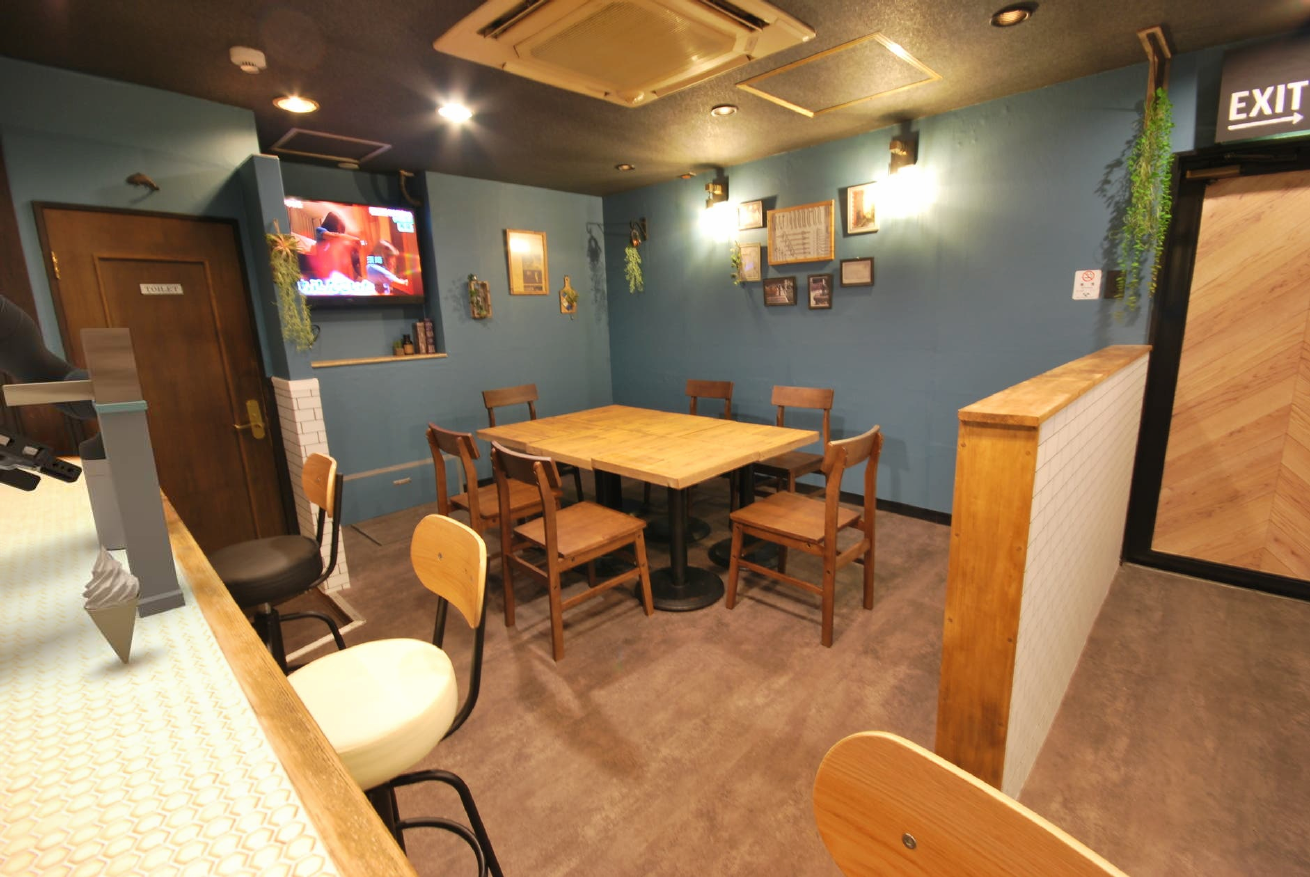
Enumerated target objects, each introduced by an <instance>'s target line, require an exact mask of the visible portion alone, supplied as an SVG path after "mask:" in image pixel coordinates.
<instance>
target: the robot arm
mask: <svg viewBox="0 0 1310 877" xmlns="http://www.w3.org/2000/svg"><path fill="white" fill-rule="evenodd" d="M0 371H1V372H3V373H5V374H6V375H8V376H10V377H12V378H13V379H15V380H17V381H19V382H20V384H33V383H50V382H67V381H84V380H90V378H89V374H88V369H82V368H79V367H76V366H74V365H73V364H70V363H69V362H68V361H65V360H64V359H62V358H61V357H59V356H58V355H57V354H55V353H53V352H52V351H50V350H49V349H48V348H47V346H46V345H45V343H44V341H43V338H42V334H41V332H40V329H39V327H38V326H37V324H36V322H35V320H33V318H32V317H31V316H30V315H29V314H28V313H26V311H25V310H23V309H22V308H20V306H17V305H16V304H15V303H13V302H12V301H10V300H9V299H8V298H6V297H5V296H4V295H2V294H0ZM140 389H141V394H142V399H143V400H144V399H145V398H144V394H143V390H142V387H141V386H140ZM144 401H145V400H144ZM49 404H50V405H52V406H53V407H54V408H56V409H57V410H58V411H59V412H62V413H63V414H65V415H67V416H69V417H72V418H74V419H78V420H89V421H90V420H91V421H92V420H95V421H96V420H98V416H97V412H96V410H95V408H94V407H93V404H92V400H79V401H66V402H53V403H49ZM145 415H146V416H147V412H145ZM98 426H99V425H98ZM98 428H99V429H98V433H97V434H96V435H94V436H93V437H92V438H89V439H86V440H84V441H82V442H80V444H78V445H79V446H78V453H79V458H80V462H81V466H79V465H77V464H74V463H71V462H68V461H66V460H64V459H61V458H58V457H56V456H53V455H51V454H52V453H53V451H54V449H55V448H54V447H52V446H50V445H47V444H45V443H42V442H40V441H37V440H34V439H32V438H29V437H26V436H23V435H20V434H18V433H15V432H12V431H9V430H7V429H4V428H2V427H0V484H3V485H6V486H8V487H12V488H15V489H18V490H20V491H24V492H32V491H35V490H36V489H37V487H38V485H39V484H40V482H41V480H42V477H41V476H40V475H37V474H35V473H32V472H36V473H38V474H41V475H44V476H48V477H50V478H53V479H56V480H59V481H62V482H64V483H67V484H72V483H76V482H77V481H78V479H79V478H80V476H81V474H82V472H83V475H84V479H85V485H86V489H87V493H88V498H89V503H90V507H91V511H92V516H93V520H94V525H95V530H96V535H97V539H98V543H99V547H100V548H99V549H101V545H103V546H104V548H105V549H106V550H119V549H125V545H124V540H123V535H122V531H121V526H120V521H119V516H118V512H117V507H116V502H115V497H114V493H113V488H112V483H111V478H110V474H109V469H108V464H107V459H106V454H105V450H104V445H103V440H102V435H101V431H100V426H99V427H98ZM29 455H31V456H33V457H31V456H29ZM30 471H31V472H30Z"/></svg>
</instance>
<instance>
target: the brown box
mask: <svg viewBox="0 0 1310 877" xmlns="http://www.w3.org/2000/svg"><path fill="white" fill-rule="evenodd" d="M79 335H80V341H81V345H82V349H83V353H84V359H85V364H86V368H87V369H86V370H88V374H89V378H90V380H84V381H67V382H50V383H33V384H23V383H19V384H18V383H16V384H4V385H3V386H2V385H1V386H2V387H1V388H2V390H3V394H4V399H5V403H6V406H7V407H11V406H24V405H36V404H37V405H39V404H40V405H41V404H50V403H53V402H66V401H79V400H92V399H94V400H95V402H96V403H97V405H100V404H112V403H125V402H137V401H143V399H142V394H141V389H142V388H141V389H140V387H141V384H140V379H139V374H138V369H137V363H136V359H135V353H134V347H133V344H132V339H131V333H130V328H129V327H96V328H95V327H92V328H91V327H90V328H89V327H88V328H87V327H86V328H85V327H82V328H80V329H79Z"/></svg>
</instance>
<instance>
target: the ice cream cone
mask: <svg viewBox="0 0 1310 877" xmlns="http://www.w3.org/2000/svg"><path fill="white" fill-rule="evenodd" d="M122 564H123V563H122V562H120V561H118V560H117V559H115V557H114V556H113V555H112V554H111V553H110V552H109V551H108V549H105V548H104V546H103V545H101V548H99V552H98V554H97V558H96V561H95V563H94V566H93V568H92V571H91V575H92V579H91V580H89V581H88V582H87V583H86V584H85V585H84V586H83V587H84V588H86V590H85V591H84V592H82V593H81V594H82V596H83V598H86V599H87V600H86V601H85V603H84V606H83V607H82V610H84V611H85V612H86V613H87V615H89V617H90V618H91V620H92V621H93V623H94V625H95V626H96V627H97V629H98V630H99V631H100V633H101V634H102V636H103V637H104V639H105V640H106V641H107V642H108V644H109V645H110V647H111V648H112V650H113V651H114V652H115V654H116V655H117V657H118V658H119V660H120V661H121V663H122V664H127V663H129V661H130V654H131V649H132V642H133V636H134V631H135V623H136V616H137V612H138V608H137V605H138V599H139V596H140V593H139V592H137V591H138V590H139V588H140V587H139V582H138V578H136V577H134V575H132V574H131V573H130V572H128V571H126V570H124V569H123V565H122Z"/></svg>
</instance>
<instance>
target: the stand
mask: <svg viewBox="0 0 1310 877" xmlns="http://www.w3.org/2000/svg"><path fill="white" fill-rule="evenodd" d="M92 404H93V407H94V408H95V410H96V412H97V416H98V419H97V421H98V424H99V425H98V426H100V431H101V435H102V440H103V445H104V450H105V454H106V459H107V464H108V469H109V474H110V478H111V483H112V488H113V493H114V497H115V502H116V507H117V512H118V516H119V521H120V526H121V531H122V535H123V540H124V545H125V548H124V549H125V550H124V551H125V553H126V559H127V564H128V568H129V573H130V574H132V575H134V577H136V578H138V582H139V587H140V588H139V590H138V591H137V592H139V593H140V596H139V599H138V605H137V612H138V614H139V617H140V619H141V618H145V617H148V616H152V615H156V614H159V613H163V612H167V611H171V610H175V609H177V608H181V607H184V606H186V600H185V594H184V592H183V589H182V587H181V586H180V584H179V581H178V575H177V570H176V565H175V560H174V554H173V550H172V544H171V540H170V534H169V528H168V525H167V524H168V523H167V519H166V513H165V508H164V503H163V498H162V493H161V488H160V483H159V477H158V472H157V467H156V462H155V461H156V460H155V456H154V451H153V446H152V440H151V437H150V431H149V426H148V425H149V424H148V420H147V414H146V415H145V413H146V410H148V409H149V408H148V404H147V401H145V400H143V401H137V402H125V403H112V404H100V405H97V403H96V402H95V400H94V399H92Z"/></svg>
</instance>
